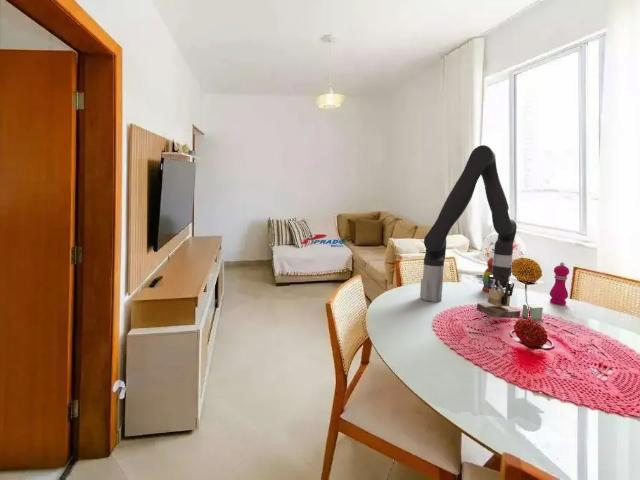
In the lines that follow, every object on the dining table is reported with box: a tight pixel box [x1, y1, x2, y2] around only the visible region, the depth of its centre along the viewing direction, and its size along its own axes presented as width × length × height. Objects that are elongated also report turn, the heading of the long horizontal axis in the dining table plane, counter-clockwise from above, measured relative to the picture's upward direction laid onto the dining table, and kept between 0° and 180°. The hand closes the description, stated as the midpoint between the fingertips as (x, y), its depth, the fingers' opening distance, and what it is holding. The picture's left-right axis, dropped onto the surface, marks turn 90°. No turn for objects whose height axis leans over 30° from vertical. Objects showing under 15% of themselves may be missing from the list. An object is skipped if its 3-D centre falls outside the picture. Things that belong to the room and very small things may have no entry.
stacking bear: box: [482, 257, 499, 293], centre depth 184 cm, size 11×10×18 cm
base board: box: [476, 302, 521, 318], centre depth 153 cm, size 12×12×2 cm
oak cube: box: [487, 289, 511, 307], centre depth 152 cm, size 6×6×6 cm
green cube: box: [521, 303, 544, 320], centre depth 146 cm, size 5×5×5 cm
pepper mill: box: [549, 261, 570, 306], centre depth 164 cm, size 7×7×20 cm
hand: (498, 302), depth 152 cm, fingers closed on oak cube, 6 cm apart
